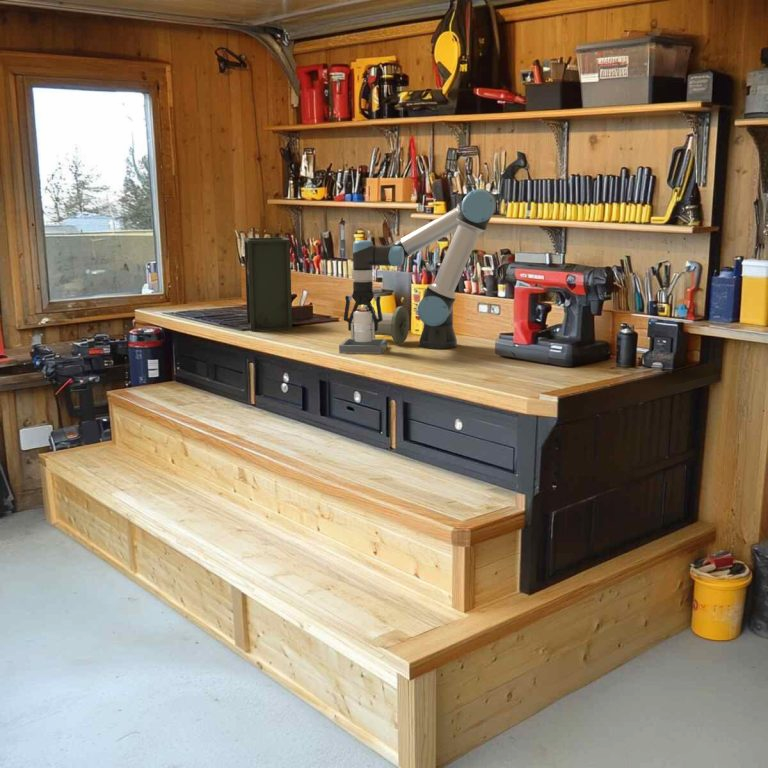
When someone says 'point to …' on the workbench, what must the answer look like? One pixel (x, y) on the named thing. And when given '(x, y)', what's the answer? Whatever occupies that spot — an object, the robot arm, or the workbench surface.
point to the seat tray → (363, 346)
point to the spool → (393, 324)
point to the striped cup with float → (362, 325)
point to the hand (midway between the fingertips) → (363, 339)
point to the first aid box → (268, 283)
